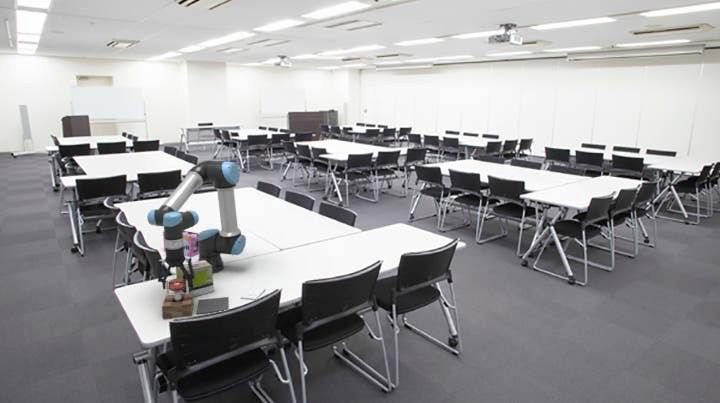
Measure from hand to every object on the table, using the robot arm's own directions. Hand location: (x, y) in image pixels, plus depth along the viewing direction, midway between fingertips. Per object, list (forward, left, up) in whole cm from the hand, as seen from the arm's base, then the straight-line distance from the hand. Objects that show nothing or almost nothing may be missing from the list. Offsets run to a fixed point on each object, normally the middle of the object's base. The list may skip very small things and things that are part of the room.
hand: (177, 294), depth 194 cm
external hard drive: (-11, +34, -10) cm, 37 cm away
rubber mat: (-2, +15, -9) cm, 17 cm away
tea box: (-20, +6, -9) cm, 23 cm away
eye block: (0, 0, -9) cm, 9 cm away
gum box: (-83, -7, -9) cm, 84 cm away
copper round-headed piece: (0, 0, -9) cm, 9 cm away
